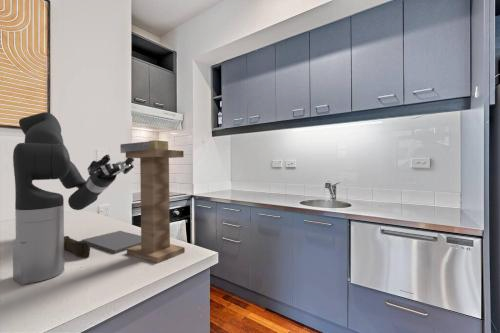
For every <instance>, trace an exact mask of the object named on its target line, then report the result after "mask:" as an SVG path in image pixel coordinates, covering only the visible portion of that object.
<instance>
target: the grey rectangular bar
mask: <svg viewBox="0 0 500 333" xmlns="http://www.w3.org/2000/svg"><path fill="white" fill-rule="evenodd" d="M119 146H120V154H126V151H139V150H153V149H161V150H169V141H167V140H155V139H153V140H148V141H139V142H132V143H131V142H130V143H120V145H119Z"/></svg>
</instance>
